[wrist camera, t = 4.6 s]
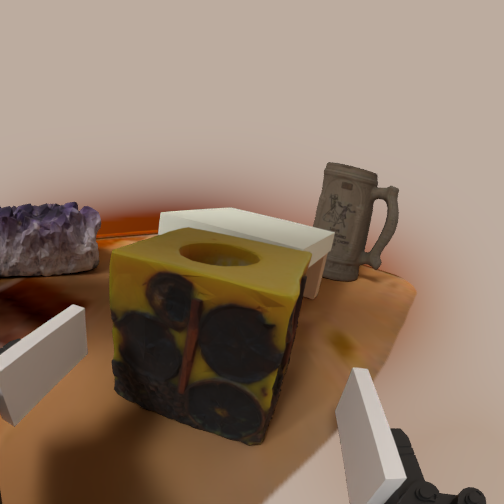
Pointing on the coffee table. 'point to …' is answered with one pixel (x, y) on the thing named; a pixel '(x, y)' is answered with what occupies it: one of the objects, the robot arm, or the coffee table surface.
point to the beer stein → (352, 219)
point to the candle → (205, 327)
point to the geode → (48, 239)
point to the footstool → (259, 234)
